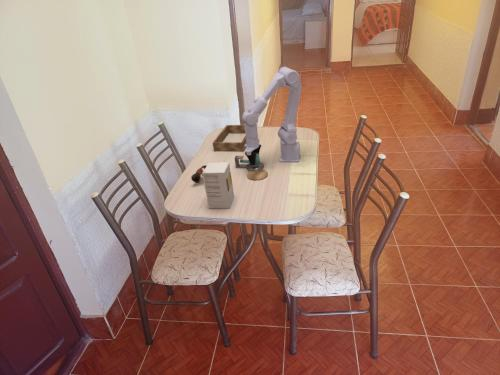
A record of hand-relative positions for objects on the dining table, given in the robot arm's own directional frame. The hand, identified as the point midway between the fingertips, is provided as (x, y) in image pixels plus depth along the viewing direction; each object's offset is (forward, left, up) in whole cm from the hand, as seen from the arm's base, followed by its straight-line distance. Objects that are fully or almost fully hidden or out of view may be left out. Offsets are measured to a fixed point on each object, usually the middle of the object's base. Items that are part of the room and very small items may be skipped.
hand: (254, 162), depth 174 cm
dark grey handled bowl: (+3, 0, -3) cm, 4 cm away
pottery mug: (+22, +15, -3) cm, 27 cm away
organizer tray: (+19, -30, -3) cm, 36 cm away
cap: (+2, 0, 0) cm, 2 cm away
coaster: (-3, +8, -3) cm, 9 cm away
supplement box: (+7, +32, -3) cm, 33 cm away
